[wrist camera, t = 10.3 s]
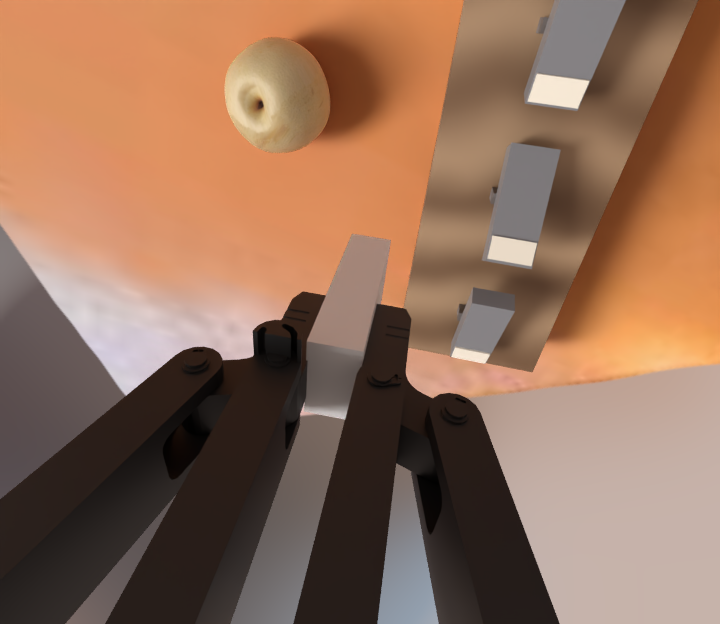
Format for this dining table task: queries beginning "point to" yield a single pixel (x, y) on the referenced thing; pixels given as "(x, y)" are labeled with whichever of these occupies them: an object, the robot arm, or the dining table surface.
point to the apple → (277, 95)
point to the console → (537, 128)
